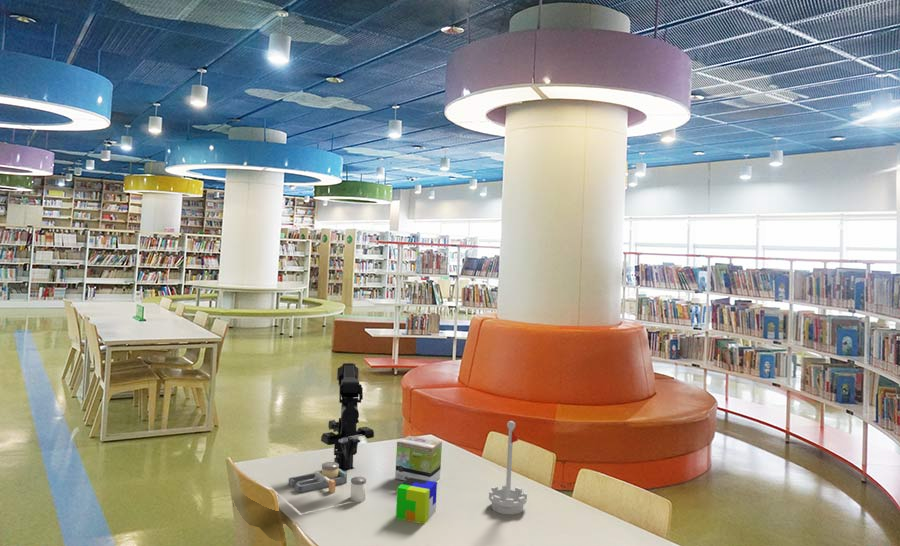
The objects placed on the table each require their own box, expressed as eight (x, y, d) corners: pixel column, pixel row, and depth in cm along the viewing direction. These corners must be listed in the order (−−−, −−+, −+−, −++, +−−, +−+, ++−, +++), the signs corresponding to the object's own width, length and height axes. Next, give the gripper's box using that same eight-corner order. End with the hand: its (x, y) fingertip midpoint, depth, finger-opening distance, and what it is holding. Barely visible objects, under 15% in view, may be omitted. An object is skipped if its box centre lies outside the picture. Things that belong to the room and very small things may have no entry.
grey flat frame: (334, 476, 222) (334, 465, 222) (346, 484, 215) (347, 473, 215) (288, 485, 211) (288, 474, 211) (299, 494, 203) (299, 483, 203)
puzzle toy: (435, 512, 194) (436, 482, 194) (424, 524, 185) (425, 492, 185) (408, 506, 198) (409, 477, 197) (395, 518, 188) (397, 487, 188)
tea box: (394, 479, 222) (396, 441, 221) (406, 471, 231) (407, 434, 231) (430, 487, 216) (432, 447, 216) (440, 478, 225) (442, 440, 225)
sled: (317, 480, 216) (317, 469, 216) (334, 493, 205) (335, 481, 205) (292, 485, 210) (293, 474, 210) (309, 498, 199) (310, 486, 199)
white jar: (360, 495, 205) (361, 475, 205) (368, 500, 201) (369, 480, 201) (347, 498, 202) (348, 478, 202) (354, 503, 198) (355, 483, 198)
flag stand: (481, 502, 204) (485, 417, 203) (514, 498, 209) (518, 415, 209) (499, 517, 192) (503, 427, 192) (533, 512, 197) (537, 424, 197)
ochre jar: (333, 476, 220) (334, 461, 220) (341, 481, 215) (341, 465, 215) (318, 479, 216) (318, 463, 216) (325, 485, 211) (326, 468, 211)
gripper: (360, 408, 221) (358, 448, 221) (315, 414, 210) (313, 457, 210) (375, 414, 212) (373, 457, 213) (329, 421, 201) (327, 466, 201)
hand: (347, 459), depth 209 cm, fingers closed
